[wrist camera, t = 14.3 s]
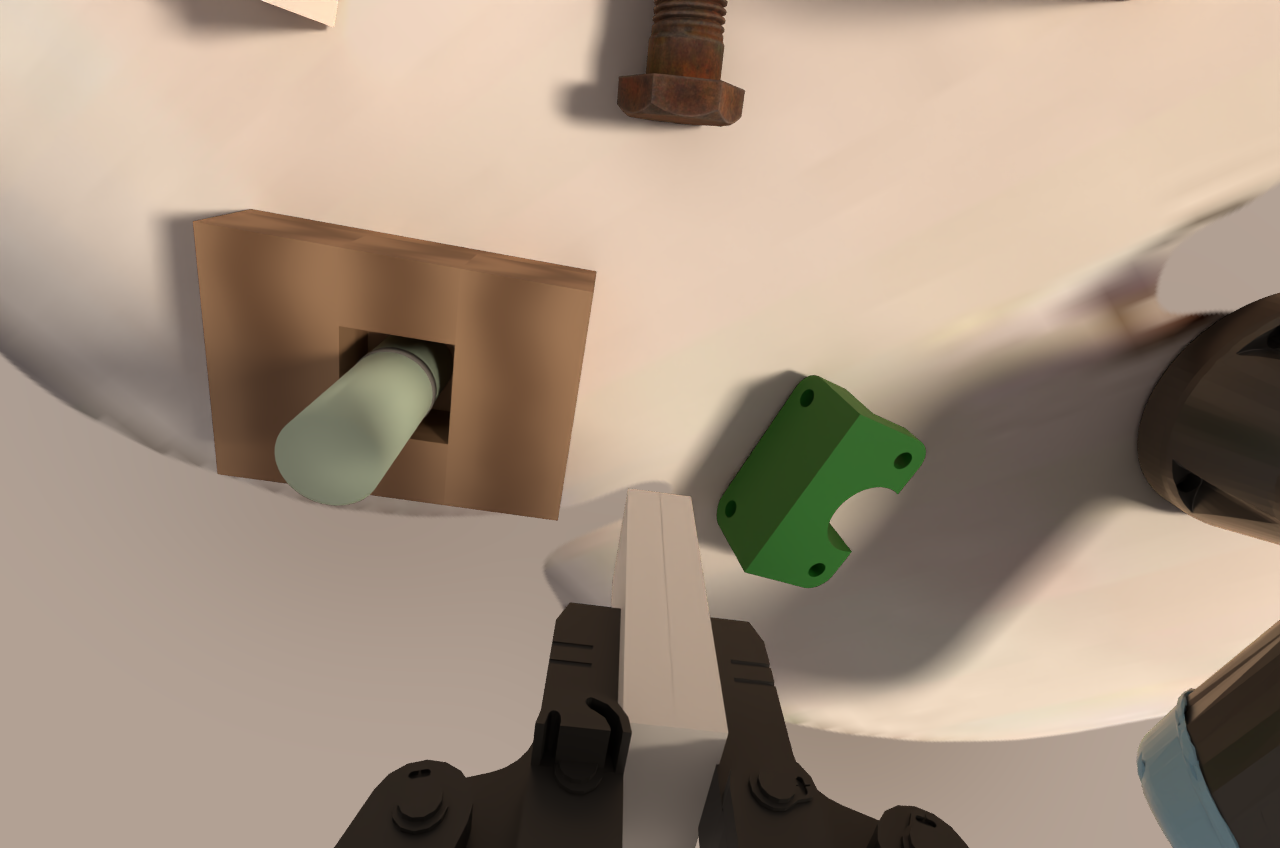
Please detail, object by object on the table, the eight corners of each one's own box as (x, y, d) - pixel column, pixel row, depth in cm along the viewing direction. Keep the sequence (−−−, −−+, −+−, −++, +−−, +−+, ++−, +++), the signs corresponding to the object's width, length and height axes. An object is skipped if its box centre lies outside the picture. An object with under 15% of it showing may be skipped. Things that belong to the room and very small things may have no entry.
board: (596, 271, 35) (593, 292, 30) (564, 476, 40) (557, 520, 35) (251, 209, 33) (192, 221, 28) (265, 433, 38) (217, 474, 33)
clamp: (774, 481, 46) (799, 601, 40) (708, 458, 43) (725, 583, 38) (909, 384, 38) (963, 517, 32) (838, 349, 35) (884, 486, 30)
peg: (457, 334, 35) (386, 422, 24) (450, 402, 36) (380, 514, 26) (380, 319, 34) (272, 403, 23) (376, 389, 36) (273, 497, 25)
